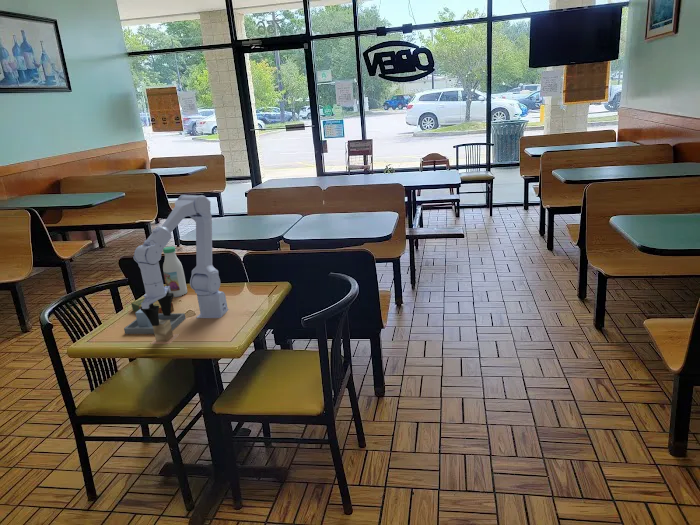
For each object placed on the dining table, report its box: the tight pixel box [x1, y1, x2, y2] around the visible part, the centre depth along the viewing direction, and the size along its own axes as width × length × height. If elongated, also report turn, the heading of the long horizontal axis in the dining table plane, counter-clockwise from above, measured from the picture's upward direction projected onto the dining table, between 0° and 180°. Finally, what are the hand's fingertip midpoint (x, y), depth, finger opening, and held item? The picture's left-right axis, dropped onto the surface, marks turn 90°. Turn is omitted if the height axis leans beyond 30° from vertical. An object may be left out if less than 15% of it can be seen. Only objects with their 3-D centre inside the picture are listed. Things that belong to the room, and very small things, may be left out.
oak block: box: [153, 320, 174, 342], centre depth 172 cm, size 4×4×6 cm
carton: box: [130, 297, 175, 314], centre depth 198 cm, size 8×16×4 cm, turn 51°
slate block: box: [135, 309, 152, 328], centre depth 183 cm, size 4×4×6 cm
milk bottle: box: [162, 246, 188, 298], centre depth 212 cm, size 8×8×20 cm
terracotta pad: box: [150, 333, 180, 345], centre depth 173 cm, size 7×7×1 cm
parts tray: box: [123, 312, 186, 335], centre depth 183 cm, size 16×12×2 cm
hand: (161, 320), depth 171 cm, fingers open, 7 cm apart
